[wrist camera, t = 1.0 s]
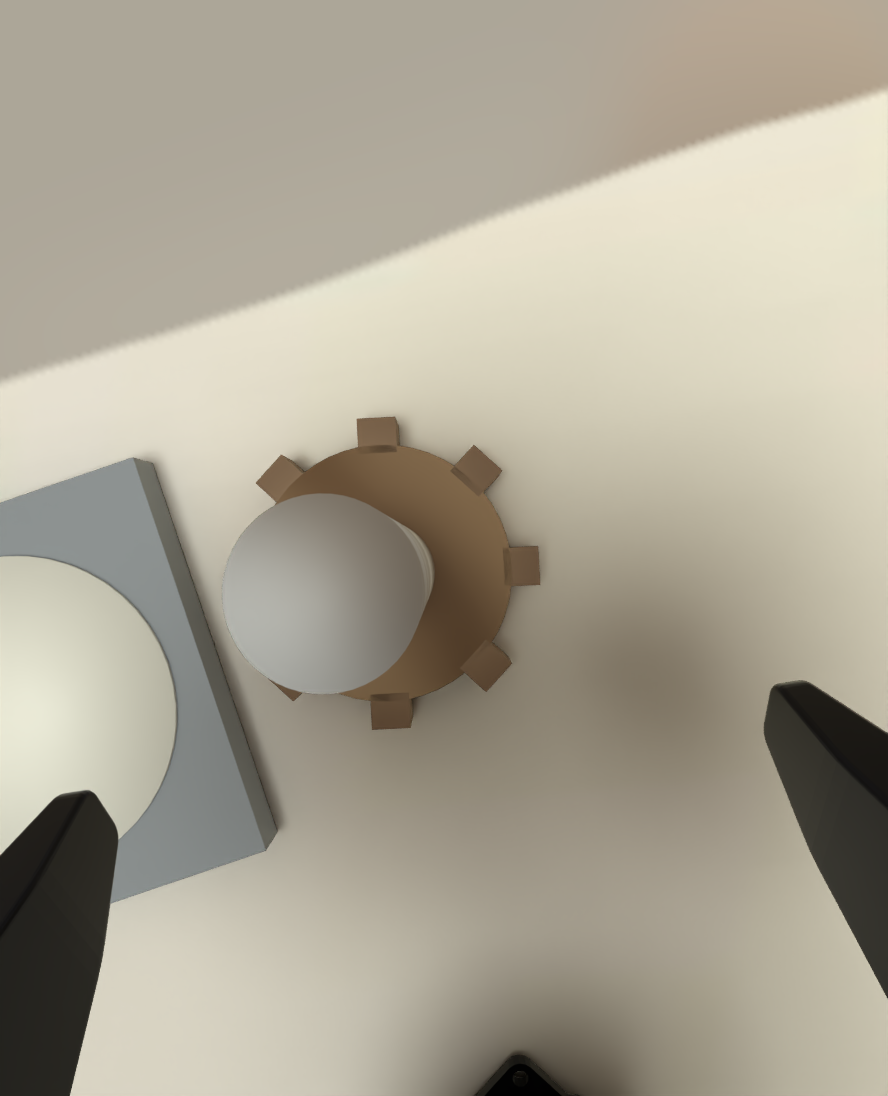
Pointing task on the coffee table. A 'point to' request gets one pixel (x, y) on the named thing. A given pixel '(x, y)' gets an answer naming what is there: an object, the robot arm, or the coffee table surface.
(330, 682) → the walnut gear
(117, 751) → the gear board
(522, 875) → the coffee table surface
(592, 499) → the coffee table surface
